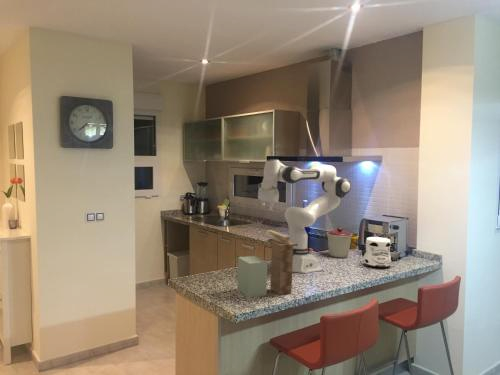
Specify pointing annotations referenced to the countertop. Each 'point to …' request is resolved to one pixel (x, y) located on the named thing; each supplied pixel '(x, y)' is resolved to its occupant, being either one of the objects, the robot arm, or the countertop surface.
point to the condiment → (354, 241)
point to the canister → (339, 243)
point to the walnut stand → (281, 267)
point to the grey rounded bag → (395, 255)
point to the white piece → (377, 252)
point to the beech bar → (278, 237)
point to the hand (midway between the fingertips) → (266, 209)
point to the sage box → (252, 276)
